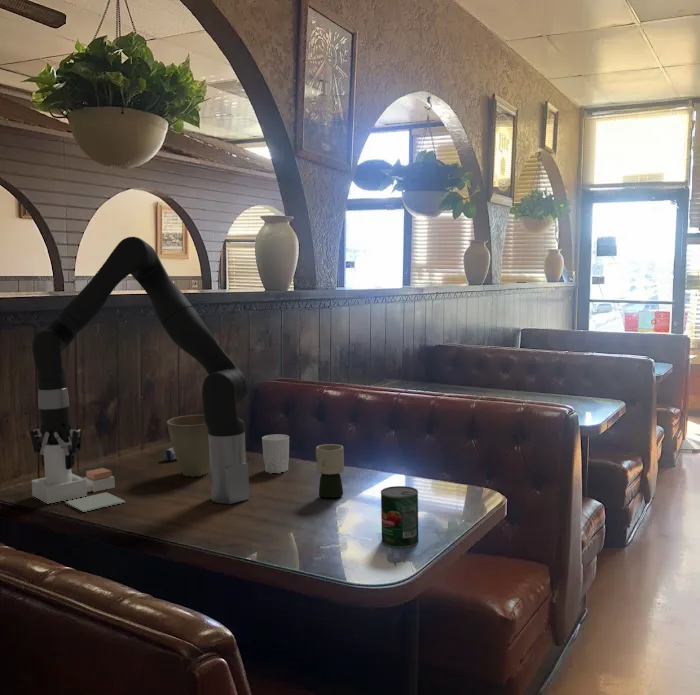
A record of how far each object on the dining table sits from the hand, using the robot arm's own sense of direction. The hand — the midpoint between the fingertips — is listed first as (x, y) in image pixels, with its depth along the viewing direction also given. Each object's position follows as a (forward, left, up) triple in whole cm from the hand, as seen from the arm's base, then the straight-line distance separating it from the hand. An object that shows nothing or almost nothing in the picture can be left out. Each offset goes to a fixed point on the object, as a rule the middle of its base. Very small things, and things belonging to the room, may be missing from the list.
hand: (58, 468), depth 199 cm
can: (0, 0, -5) cm, 5 cm away
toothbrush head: (+15, -51, -8) cm, 54 cm away
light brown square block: (0, -11, -8) cm, 13 cm away
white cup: (-22, -55, -8) cm, 60 cm away
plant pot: (-7, -37, -8) cm, 38 cm away
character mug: (-53, -49, -8) cm, 72 cm away
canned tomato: (-88, -38, -8) cm, 96 cm away
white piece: (0, -5, -8) cm, 9 cm away
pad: (-13, -4, -8) cm, 15 cm away
